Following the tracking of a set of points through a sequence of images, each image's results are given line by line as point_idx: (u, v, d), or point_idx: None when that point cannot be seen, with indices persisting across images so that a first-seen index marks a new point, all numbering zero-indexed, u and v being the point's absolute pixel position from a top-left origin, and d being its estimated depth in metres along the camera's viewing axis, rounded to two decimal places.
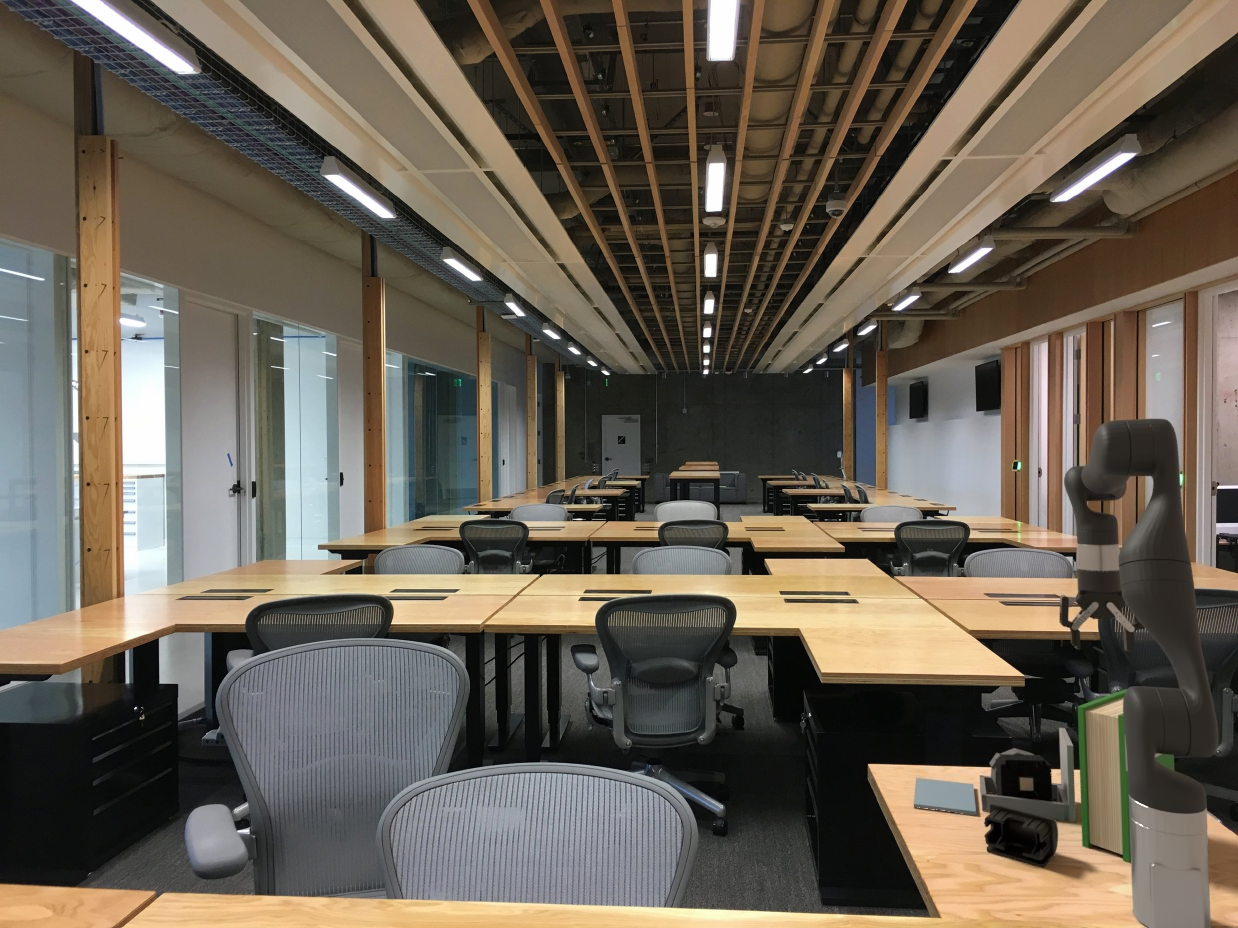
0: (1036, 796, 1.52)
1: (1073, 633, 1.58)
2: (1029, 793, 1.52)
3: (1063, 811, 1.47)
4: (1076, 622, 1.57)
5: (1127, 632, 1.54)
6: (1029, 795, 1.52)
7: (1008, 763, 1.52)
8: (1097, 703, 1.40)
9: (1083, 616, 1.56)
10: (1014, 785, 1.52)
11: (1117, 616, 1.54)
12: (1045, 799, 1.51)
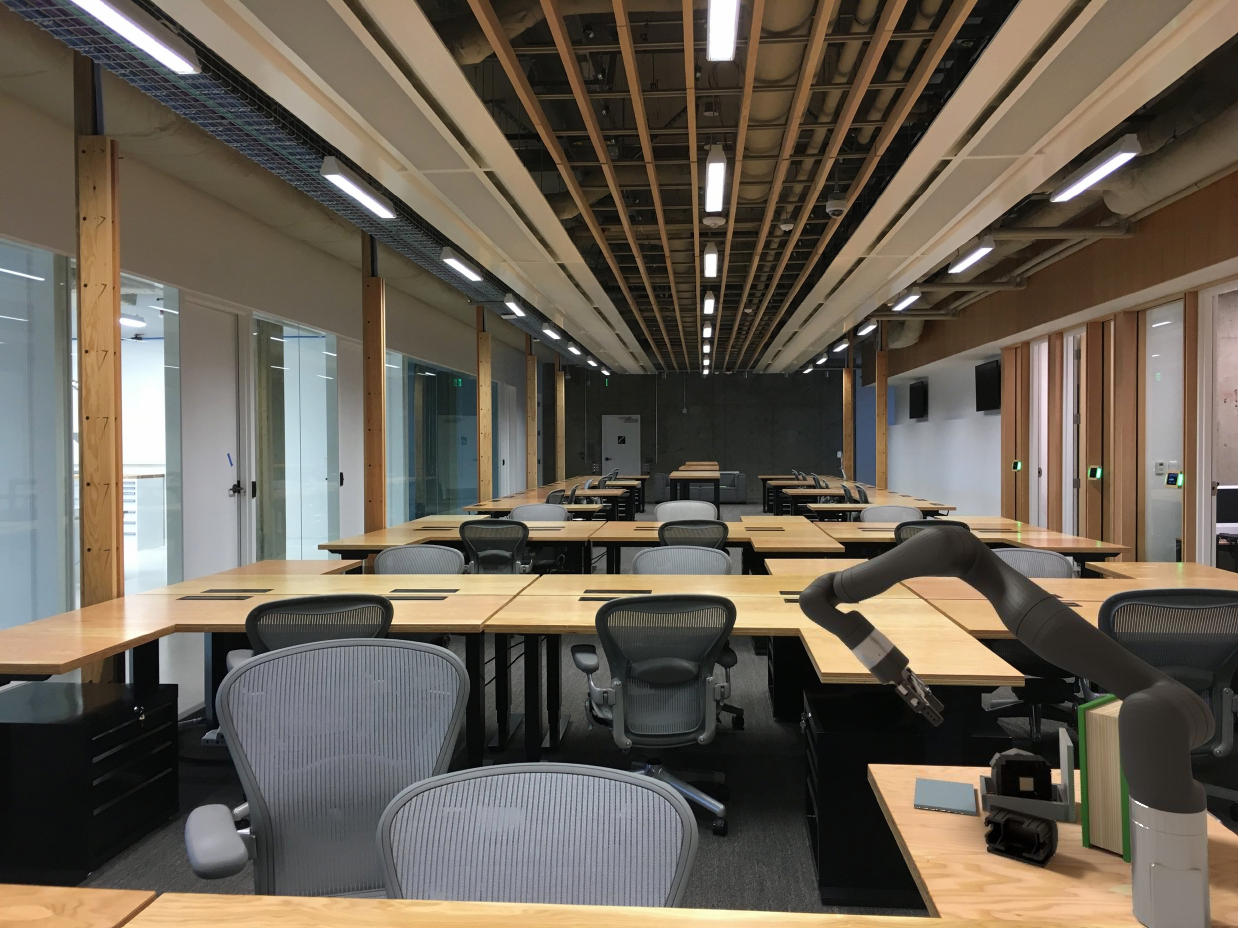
0: (1036, 796, 1.52)
1: (930, 709, 1.56)
2: (1029, 793, 1.52)
3: (1063, 811, 1.47)
4: (923, 698, 1.57)
5: (930, 694, 1.65)
6: (1029, 795, 1.52)
7: (1008, 763, 1.52)
8: (1097, 703, 1.40)
9: (920, 690, 1.59)
10: (1014, 785, 1.52)
11: (921, 682, 1.64)
12: (1045, 799, 1.51)
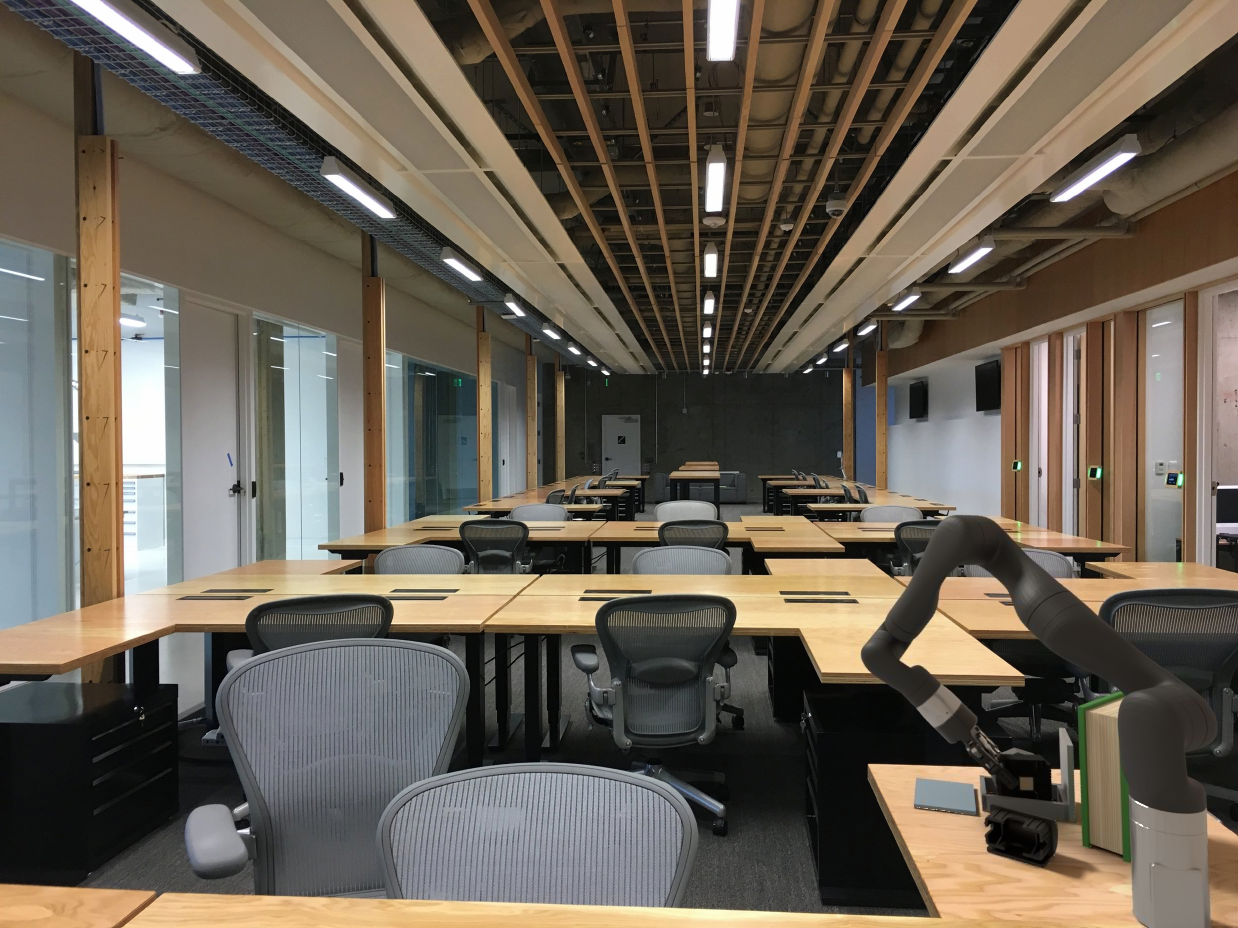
0: (1036, 796, 1.52)
1: (1005, 772, 1.51)
2: (1029, 793, 1.52)
3: (1063, 811, 1.47)
4: (997, 760, 1.52)
5: None
6: (1029, 795, 1.52)
7: (1008, 763, 1.53)
8: (1097, 703, 1.40)
9: (992, 750, 1.53)
10: None
11: (990, 741, 1.58)
12: (1045, 799, 1.51)
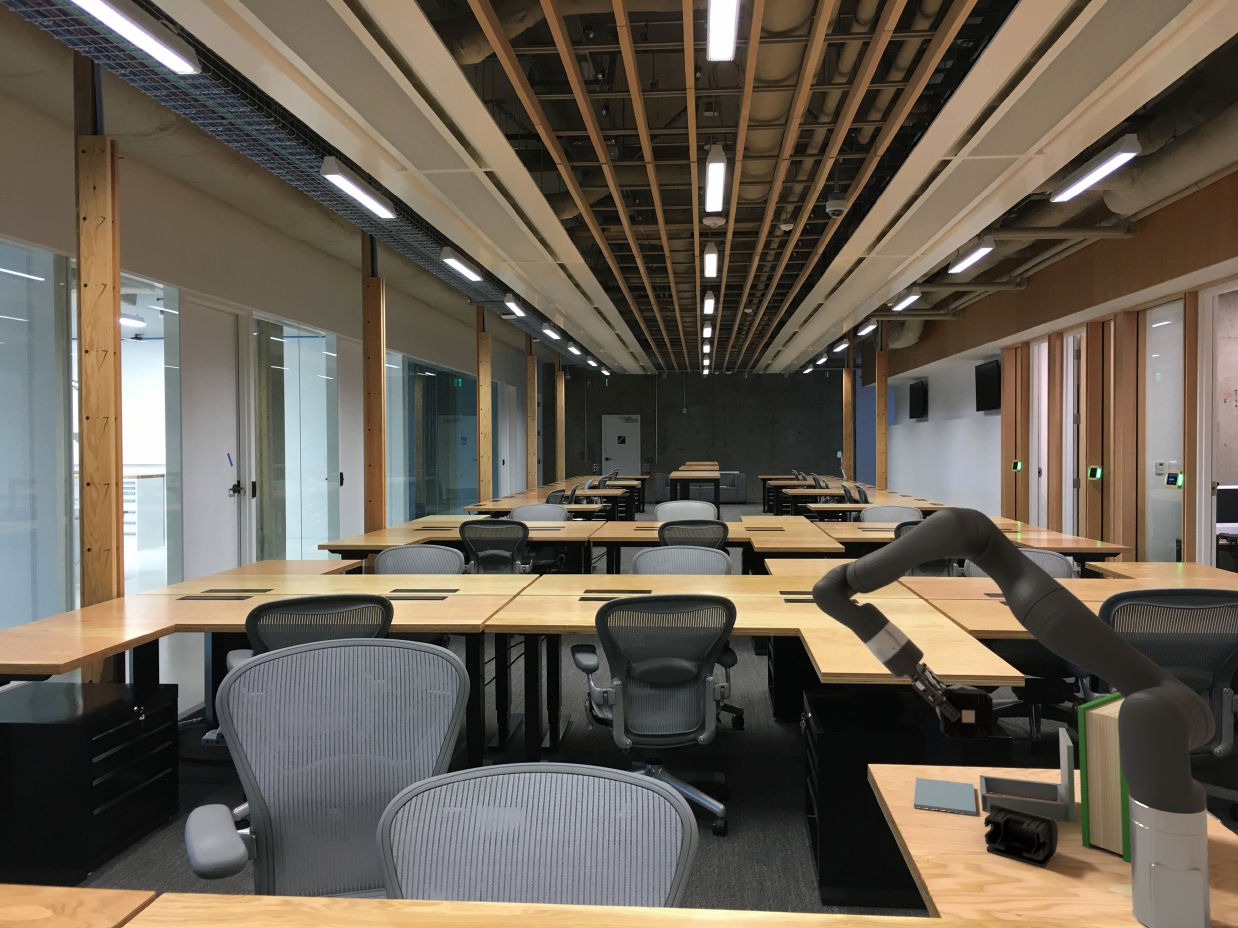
0: (977, 728, 1.56)
1: (948, 704, 1.56)
2: (971, 725, 1.56)
3: (1063, 811, 1.47)
4: (940, 693, 1.56)
5: None
6: (971, 727, 1.56)
7: (951, 696, 1.57)
8: (1097, 703, 1.40)
9: (936, 684, 1.57)
10: None
11: (936, 677, 1.62)
12: (986, 731, 1.56)
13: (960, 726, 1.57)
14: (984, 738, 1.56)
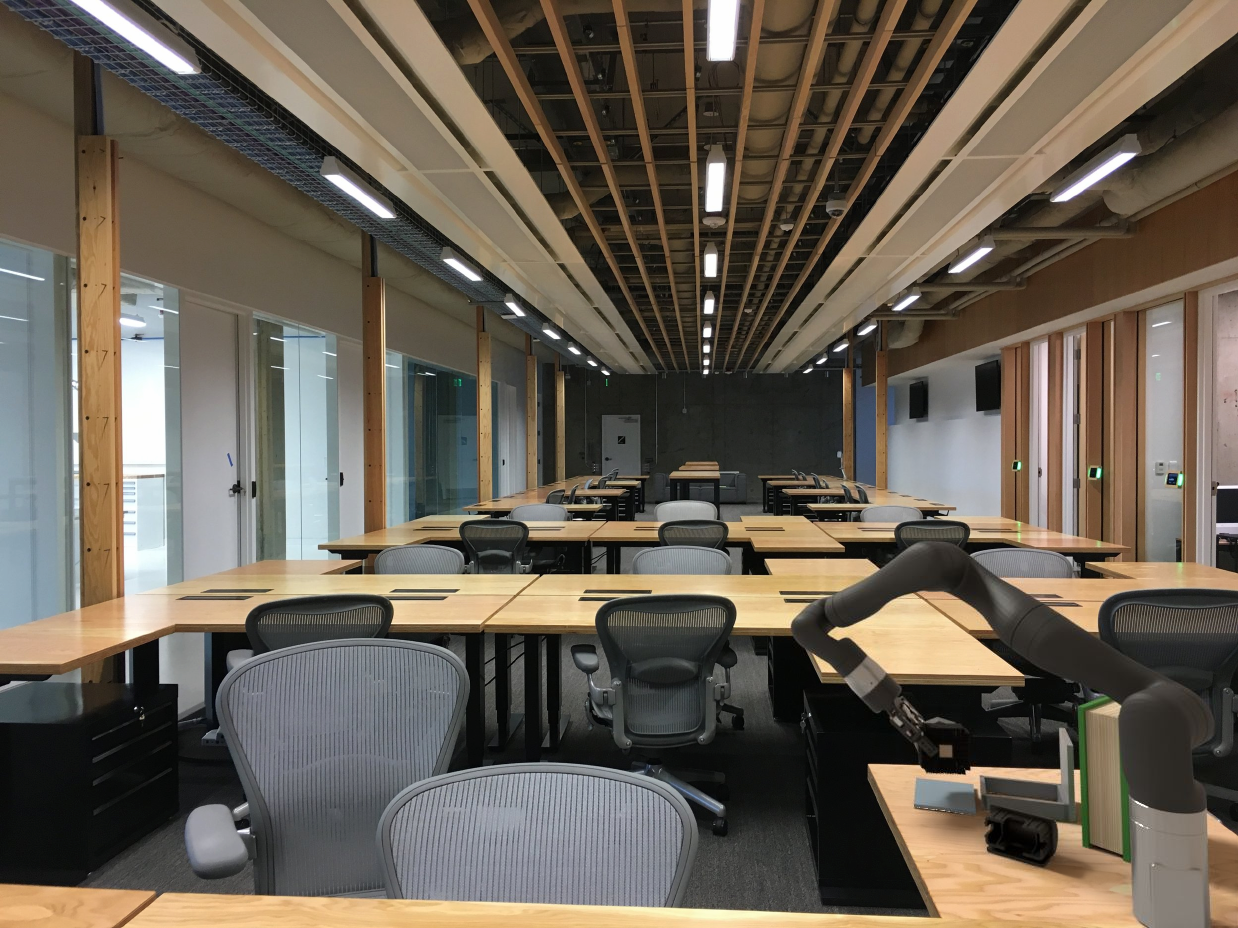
0: (955, 763, 1.57)
1: (925, 739, 1.56)
2: (948, 760, 1.57)
3: (1063, 811, 1.47)
4: (918, 728, 1.57)
5: None
6: (948, 762, 1.57)
7: (928, 731, 1.58)
8: (1097, 703, 1.40)
9: (914, 719, 1.58)
10: None
11: (914, 711, 1.63)
12: (963, 766, 1.57)
13: (938, 761, 1.57)
14: (962, 772, 1.56)
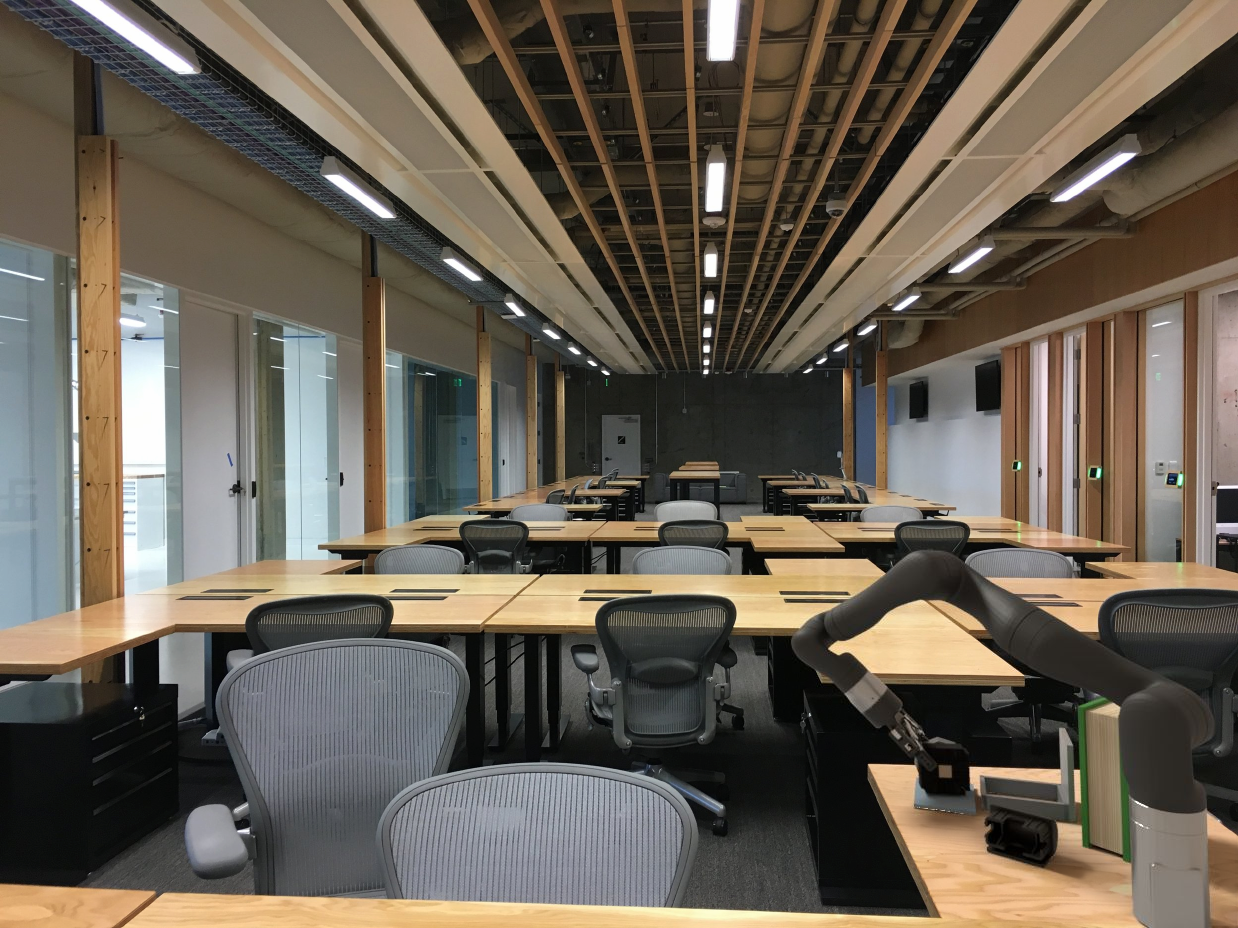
0: (955, 783, 1.57)
1: (924, 754, 1.55)
2: (948, 780, 1.57)
3: (1063, 811, 1.47)
4: (917, 743, 1.56)
5: (924, 736, 1.64)
6: (948, 782, 1.57)
7: (928, 751, 1.58)
8: (1097, 703, 1.40)
9: (914, 734, 1.58)
10: (933, 772, 1.57)
11: (914, 724, 1.63)
12: (963, 786, 1.57)
13: (937, 781, 1.57)
14: (962, 793, 1.56)
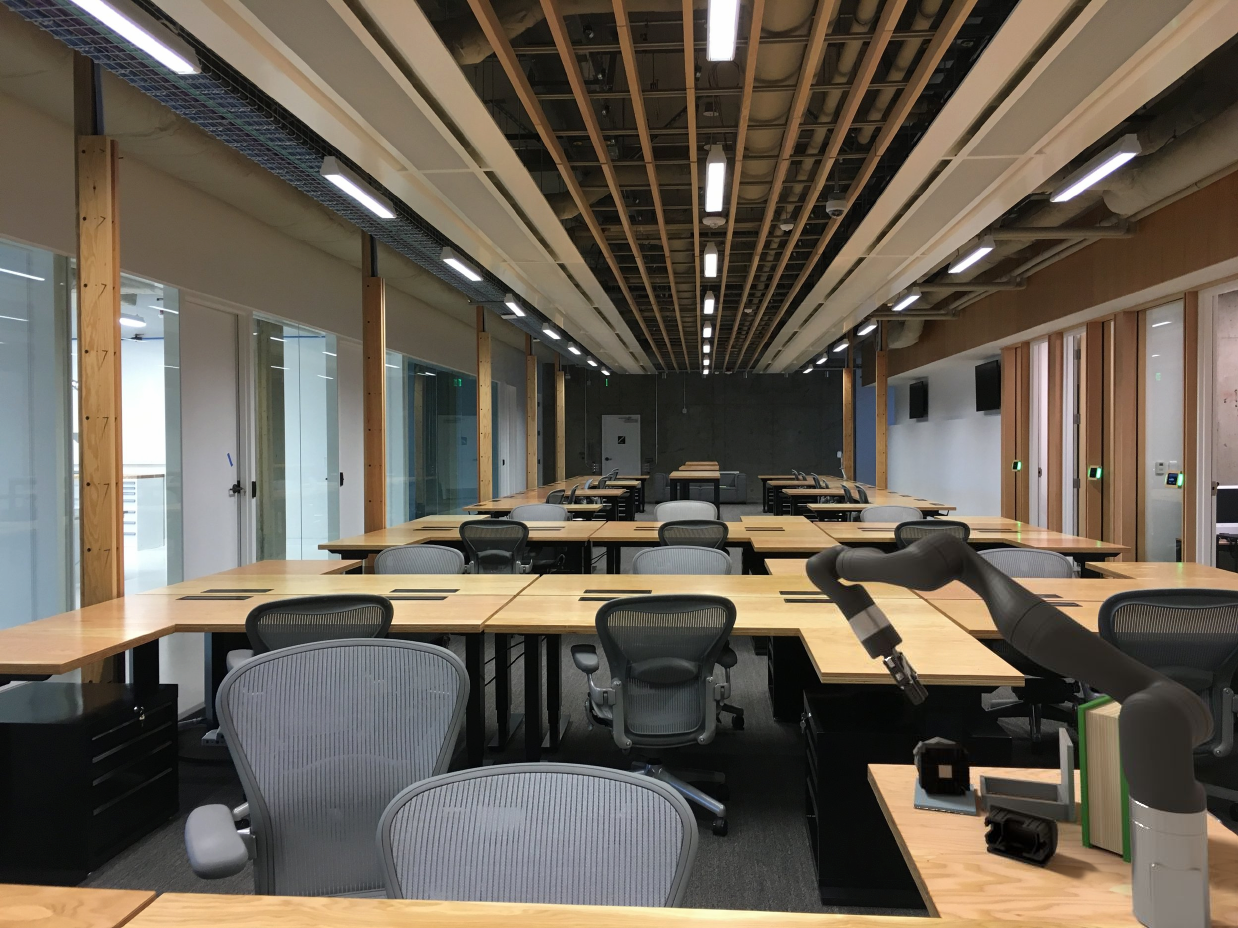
0: (955, 783, 1.57)
1: (913, 687, 1.59)
2: (948, 780, 1.57)
3: (1063, 811, 1.47)
4: (908, 676, 1.61)
5: None
6: (948, 782, 1.57)
7: (928, 751, 1.58)
8: (1097, 703, 1.40)
9: (907, 668, 1.62)
10: (933, 772, 1.57)
11: (910, 665, 1.67)
12: (963, 786, 1.57)
13: (937, 781, 1.57)
14: (962, 793, 1.56)
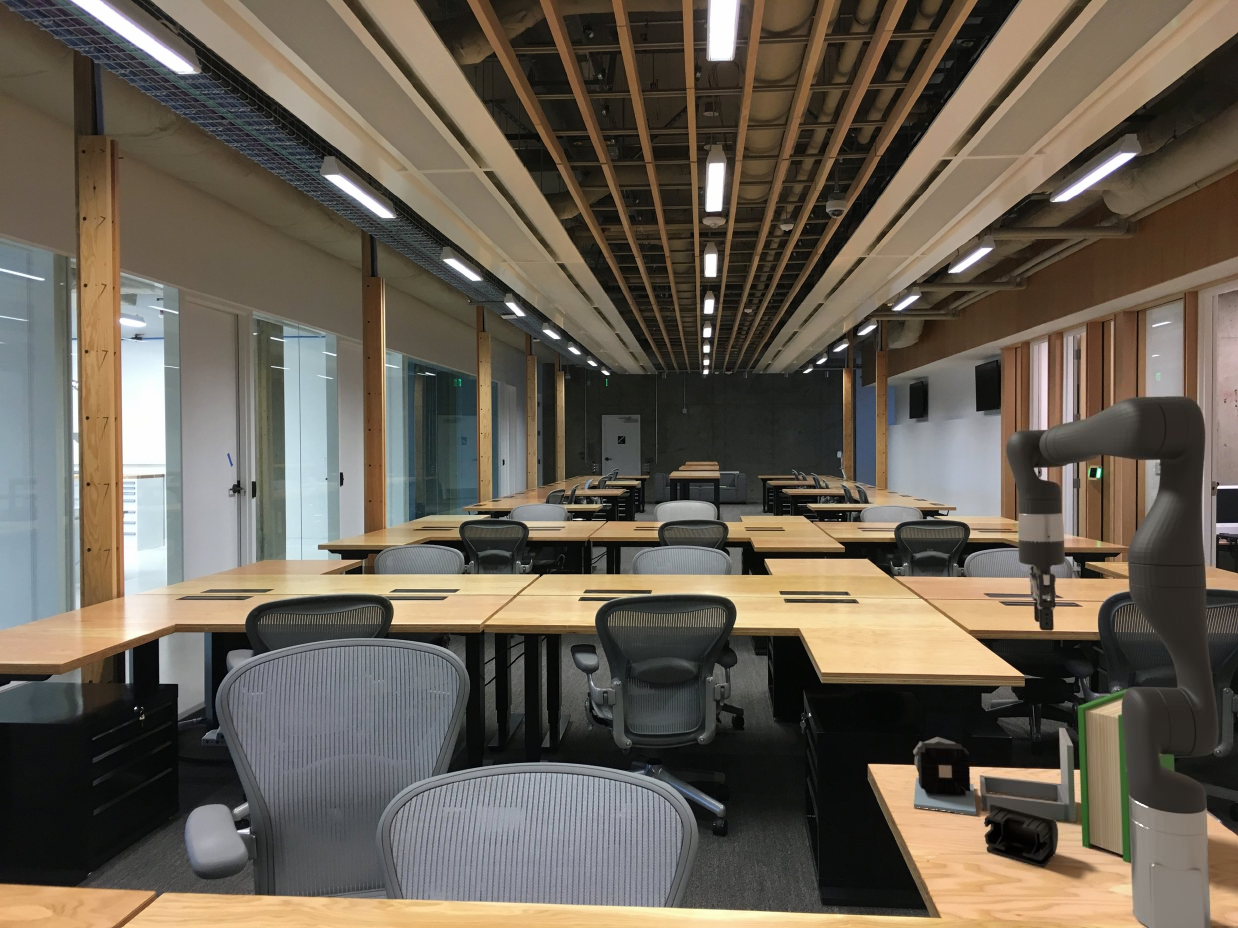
0: (955, 783, 1.57)
1: None
2: (948, 780, 1.57)
3: (1063, 811, 1.47)
4: None
5: None
6: (948, 782, 1.57)
7: (928, 751, 1.58)
8: (1097, 703, 1.40)
9: None
10: (933, 772, 1.57)
11: None
12: (963, 786, 1.57)
13: (937, 781, 1.57)
14: (962, 793, 1.56)
